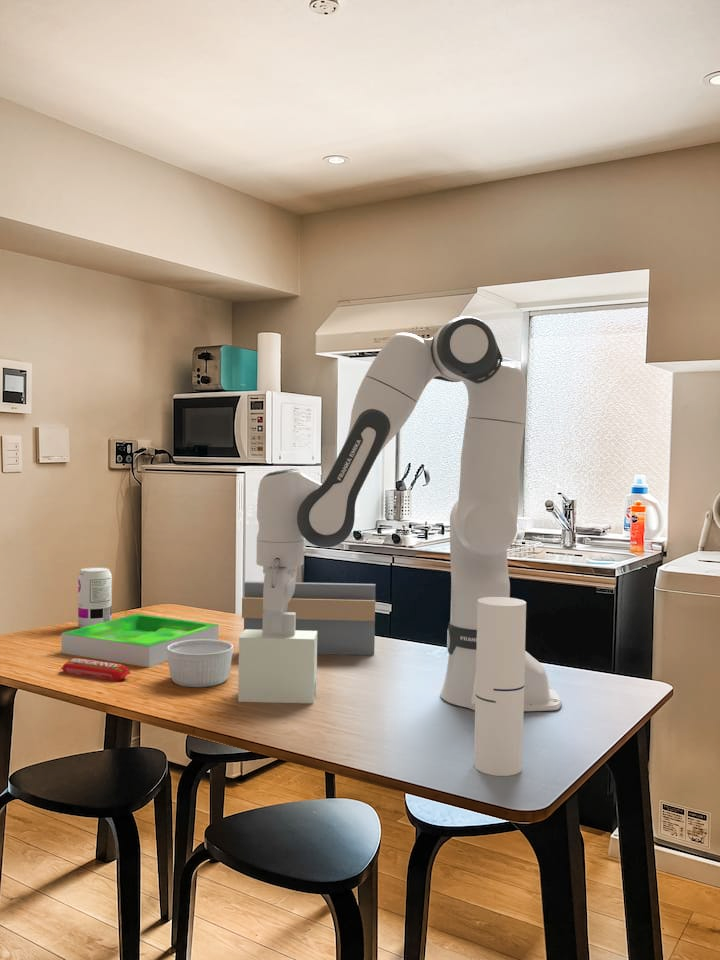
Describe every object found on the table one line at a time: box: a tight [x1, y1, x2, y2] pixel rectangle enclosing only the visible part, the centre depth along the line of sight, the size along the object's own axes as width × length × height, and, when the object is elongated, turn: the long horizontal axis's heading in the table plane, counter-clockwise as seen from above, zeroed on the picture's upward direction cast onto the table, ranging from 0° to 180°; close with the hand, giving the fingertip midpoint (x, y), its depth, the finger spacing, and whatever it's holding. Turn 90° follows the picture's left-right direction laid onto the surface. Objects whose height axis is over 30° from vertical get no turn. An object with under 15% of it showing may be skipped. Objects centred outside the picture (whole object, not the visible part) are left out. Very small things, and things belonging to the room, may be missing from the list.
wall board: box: [241, 580, 376, 656], centre depth 192 cm, size 30×9×16 cm, turn 89°
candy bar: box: [60, 657, 131, 682], centre depth 170 cm, size 16×4×3 cm, turn 67°
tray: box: [61, 613, 219, 668], centre depth 193 cm, size 25×25×5 cm
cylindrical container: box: [473, 597, 527, 777], centre depth 124 cm, size 7×7×25 cm
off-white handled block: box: [237, 612, 318, 704], centre depth 157 cm, size 14×7×16 cm, turn 89°
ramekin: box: [167, 639, 234, 688], centre depth 168 cm, size 13×13×7 cm
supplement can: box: [77, 566, 113, 628], centre depth 214 cm, size 8×8×15 cm
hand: (279, 628), depth 157 cm, fingers open, 5 cm apart
